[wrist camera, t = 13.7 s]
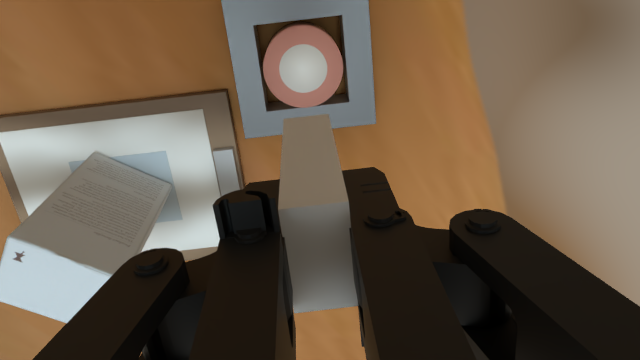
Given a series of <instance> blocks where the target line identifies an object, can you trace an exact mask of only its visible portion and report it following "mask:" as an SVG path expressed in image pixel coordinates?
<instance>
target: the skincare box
mask: <svg viewBox="0 0 640 360" xmlns="http://www.w3.org/2000/svg"><path fill="white" fill-rule="evenodd" d="M171 188H172V185H171V184H169V183H167V182H165V181H162V180H160V179H157V178H155V177H153V176H150V175H148V174H145V173H143V172H141V171H138V170H136V169H134V168H131V167H129V166H126V165H124V164H122V163H119V162H117V161H115V160H112V159H110V158H107V157H105V156H103V155H100V154H98V153H96V152H93V153H92V154H91V155H90V156H89V157H88V158H87V159H86V160H85V161H84V162H83V163H82V164H81V165H80V166H79V167H78V168H77V169H76V170H75V171H74V172H73V173H72V174H71V175H70V176H69V177H68V178H67V179H66V180H65V181H64V182H63V183H62V184H61V185H60V186H59V187H58V188H57V189H56V190H55V191H54V192H53V193H52V194H51V195H50V196H49V197H48V198H47V199H46V200H45V201H44V202H43V203H42V204H41V205H40V206H39V207H37V208H36V209H35V211H34V212H33V213H32V214H31V215H30V216H28V218H27V219H26V220H25V221H24V222H23V223H22V224H20V225H19V226H18V227H17V228H16V229H15V230H14V231H13V232H12V233H11V234H10V235H9V236H8V237H7V240H6V244H5V247H4V251H3V254H2V258H1V261H0V302H4V303H7V304H10V305H13V306H16V307H19V308H22V309H25V310H28V311H31V312H34V313H37V314H40V315H43V316H46V317H49V318H52V319H55V320H59V321H62V322H65V323H68V322H69V320H70V319H71V318H72V317H73V316H74V315H75V314H76V313H77V312H78V311H79V310H80V309H81V308H82V307H83V306H84V305H85V304H86V303H87V301H88V300H89V299H90V298H91V297H92V296H93V295H94V294H95V293H96V292H97V291H98V290H99V289H100V288H101V287H102V286H103V285H104V283H105V282H106V281H107V280H108V279H109V278H110V277H111V276H112V275H113V274H114V273H115V272H116V271H117V270H118V269H119V268H120V267H121V266H122V264H124V263H125V262H126V261H128V260H129V259H130V258H132V257H134V256H136V255H138V254H140V253H141V251H142V249H143V247H144V245H145V243H146V241H147V239H148V238H149V236H150V234H151V232H152V230H153V227H154V225H155V223H156V221H157V219H158V217H159V215H160V213H161V210H162V208H163V206H164V204H165V202H166V199H167V197H168V195H169V193H170V190H171Z"/></svg>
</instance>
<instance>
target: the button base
mask: <svg viewBox="0 0 640 360" xmlns="http://www.w3.org/2000/svg"><path fill="white" fill-rule="evenodd" d="M221 2H222V8H223V14H224V19H225V25H226V31H227V36H228V42H229V48H230V54H231V59H232V65H233V71H234V76H235V82H236V88H237V94H238V99H239V105H240V111H241V116H242V122H243V128H244V134H245V139H247V138H255V137H264V136H273V135H281V134H283V120H284V119H288V118H297V117H305V116H314V115H322V114H329V118H330V123H331V127H332V129H333V128H342V127H350V126H359V125H368V124H376V114H375V98H374V82H373V66H372V49H371V33H370V17H369V1H368V0H221ZM338 15H339V18H340V30H341V41H342V53H343V65H344V77H345V88H346V94H338V95H332V96H331V97H330V98H329V99H327V100H326V101H325V102H323V103H321V104H319V105H316V106H313V107H308V108H299V107H293V106H290V105H288V104H286V103H284V102H282V101H278V102H269V103H268V99H267V92H266V85H265V79H264V73H263V65H262V59H261V52H260V46H259V39H258V32H257V26H256V25H260V24H269V23H278V22H286V21H295V20H304V19H312V18H321V17H330V16H338Z"/></svg>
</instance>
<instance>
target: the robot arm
mask: <svg viewBox="0 0 640 360" xmlns="http://www.w3.org/2000/svg"><path fill="white" fill-rule="evenodd" d="M213 210H214V215H215V219H216V224H217V228H218V233H219V238H220V240H219V244H218V248H217V251H216V252H214V253H212V254H210V255H207V256H204V257H202V258H198V259H195V260H192V261H188V262H185V260H184V257H183V254H182V252H180V251H178V250H177V249H172V248H154V249H150V250H149V251H148V250H146V251H143V252H141V253H140V254H138V255H136V256H134V257H132V258H130V259H129V260H128V261H126V262H125V263H124V264H122V266H121V267H120V268H119V269H118V270H117V271H116V272H115V273H114V274H113V275H112V276H111V277H110V278H109V279H108V280H107V281H106V282H105V283H104V285H103V286H102V287H101V288H100V289H99V290H98V291H97V292H96V293H95V294H94V295H93V296H92V297H91V298H90V299H89V300H88V301H87V303H86V304H85V305H84V306H83V307H82V308H81V309H80V310H79V311H78V312H77V313H76V314H75V315H74V316H73V317H72V318H71V319H70V320H69V322H68V323H67V324H66V325H65V326H64V327H63V328H62V329H61V330H60V331H59V332H58V333H57V334H56V335H55V336H54V337H53V338H52V339H51V341H50V342H49V343H48V344H47V345H46V346H45V347H44V348H43V349H42V350H41V351H40V352H39V353H38V354H37V355H36V356H35V357H34V359H33V360H296V328H295V321H294V315H293V308H294V313H301V312H309V311H318V310H327V309H335V308H344V307H352V306H358V309H359V320H360V331H361V342H362V347H363V346H364V348H365V353H366V359H367V360H640V307H639V306H638V305H637V304H635V303H634V302H632V301H631V300H629V299H628V298H626V297H625V296H624V295H622V294H621V293H619V292H618V291H616V290H615V289H613V288H612V287H611V286H609V285H608V284H606V283H605V282H603V281H602V280H601V279H599V278H597V277H596V276H594V275H593V274H592V273H590V272H589V271H588V270H586V269H584V268H583V267H582V266H580V265H579V264H577V263H576V262H575V261H573V260H572V259H570V258H568V257H567V256H566V255H564V254H563V253H561V252H560V251H559V250H557V249H556V248H554V247H553V246H551V245H550V244H548V243H547V242H545V241H544V240H543V239H541V238H540V237H538V236H537V235H535V234H534V233H532V232H531V231H530V230H528V229H527V228H525V227H524V226H522V225H521V224H520V223H518V222H517V221H515V220H514V219H512V218H511V217H509V216H507V215H505V214H503V213H500V212H496V211H491V210H489V209H483V210H481V209H474V210H469V211H464V212H461V213H459V214H456V215H455V216H454V217H453V218H452V219H451V220H450V225H449V230H446V229H432V228H425V227H421V226H417V225H415V224H414V221H413V219H412V217H411V216H410V215H409V213H408V212H407V211H405V210H403V209H400V208H399V206H398V204H397V202H396V199H395V197H394V195H393V192H392V190H391V188H390V185H389V183H388V181H387V178H386V176H385V174H384V173H383V172H381V171H380V170H378V169H376V168H375V167H370V168H361V169H353V170H344V171H342V170H341V166H340V161H339V157H338V153H337V148H336V144H335V140H334V135H333V131H332V127H331V123H330V118H329V114H322V115H314V116H305V117H297V118H288V119H284V120H283V137H282V153H281V169H280V179H279V180H270V181H261V182H253V183H249V184H248V185H247V186H246V187H245V188H244V189H241V190H236V191H233V192H230V193H228V194H225V195H223V196H222V197H220V198H218V199H217V200H216V201H215V203H214V204H213ZM141 352H142V354H141ZM140 354H141V356H140ZM139 356H140V357H139Z"/></svg>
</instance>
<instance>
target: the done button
mask: <svg viewBox="0 0 640 360" xmlns="http://www.w3.org/2000/svg"><path fill="white" fill-rule="evenodd" d="M263 73H264V78H265V81H266V84H267V86H268V87H269V89H270V91H271V92H272V93H273V94H274V95H275V96H276V97H277V98H278V99H279V100H280V101H282V102H284V103H286V104H288V105H290V106H293V107H299V108H308V107H313V106H316V105H319V104H321V103H323V102H325V101H326V100H327V99H329V98H330V97H331V96H332V95H333V94H334V93H335V91H336V90H337V88H338V86H339V84H340V82H341V79H342V75H343V61H342V56H341V53H340V51H339V49H338V47H337V45H336V43H335V41H334V40H333V38H332V37H331V35H330V34H329V33H328V32H327V31H326V30H324V29H323V28H322V27H320V26H318V25H316V24H313V23H309V22H296V23H292V24H289V25H287V26H285V27H283V28H281V29H280V30H279V31H278V32H277V33H276V34H275V35H274V36H273V37H272V39H271V40H270V42H269V45H268V47H267V51H266V54H265V57H264V62H263Z"/></svg>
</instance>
